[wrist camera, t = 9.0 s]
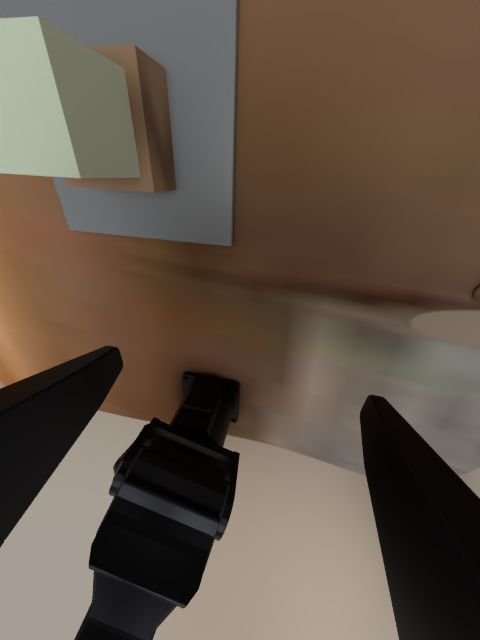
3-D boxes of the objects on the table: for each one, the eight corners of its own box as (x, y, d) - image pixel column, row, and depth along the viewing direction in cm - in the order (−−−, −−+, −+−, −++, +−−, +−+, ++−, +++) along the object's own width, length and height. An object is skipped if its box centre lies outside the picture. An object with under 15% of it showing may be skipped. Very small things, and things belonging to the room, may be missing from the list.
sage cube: (140, 177, 14) (80, 178, 10) (73, 173, 15) (-6, 172, 11) (124, 68, 11) (38, 16, 8) (45, 69, 12) (-70, 22, 8)
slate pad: (232, 244, 18) (231, 246, 18) (74, 229, 20) (69, 230, 20) (239, -33, 11) (237, -40, 11) (0, -11, 14) (-10, -17, 13)
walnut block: (176, 190, 17) (154, 192, 14) (100, 185, 18) (66, 186, 15) (165, 68, 13) (134, 44, 11) (73, 71, 14) (25, 49, 12)
